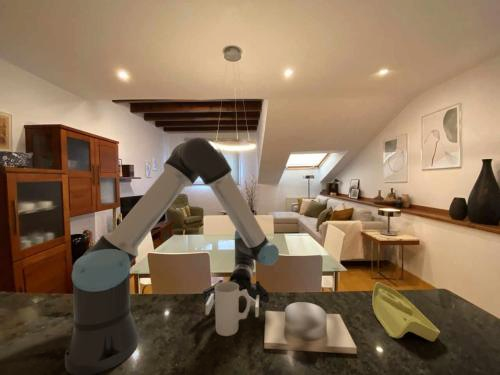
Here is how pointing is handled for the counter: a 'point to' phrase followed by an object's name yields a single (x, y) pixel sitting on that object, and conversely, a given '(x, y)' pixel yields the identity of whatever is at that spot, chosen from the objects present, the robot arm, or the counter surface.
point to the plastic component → (400, 314)
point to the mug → (229, 307)
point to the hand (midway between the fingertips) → (231, 310)
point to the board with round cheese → (307, 330)
